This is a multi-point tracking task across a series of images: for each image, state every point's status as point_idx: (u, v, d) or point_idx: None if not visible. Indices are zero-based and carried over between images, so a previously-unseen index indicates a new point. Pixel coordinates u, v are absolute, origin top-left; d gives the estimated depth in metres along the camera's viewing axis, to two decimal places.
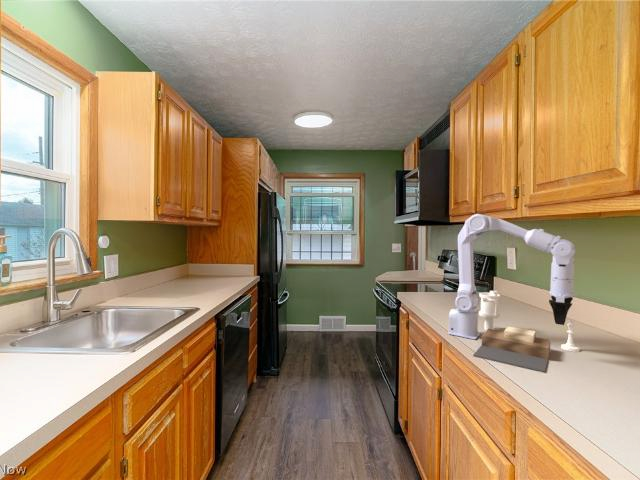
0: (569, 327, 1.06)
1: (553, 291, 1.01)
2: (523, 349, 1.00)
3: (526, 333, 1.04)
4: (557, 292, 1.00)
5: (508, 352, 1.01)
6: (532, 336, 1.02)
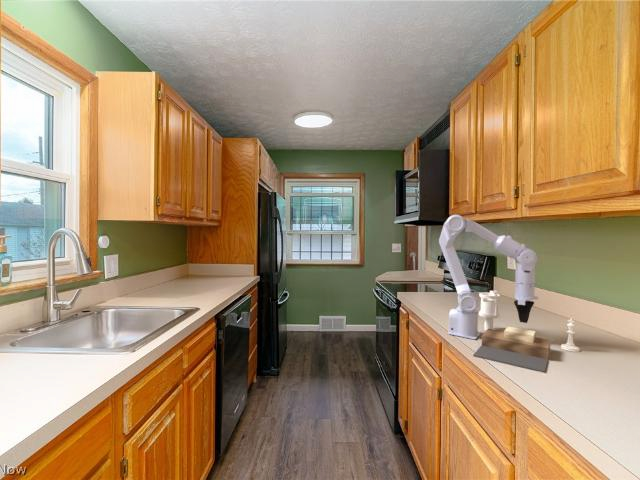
0: (569, 327, 1.06)
1: (517, 294, 1.12)
2: (523, 349, 1.00)
3: (526, 333, 1.04)
4: (520, 295, 1.11)
5: (508, 352, 1.01)
6: (532, 336, 1.02)
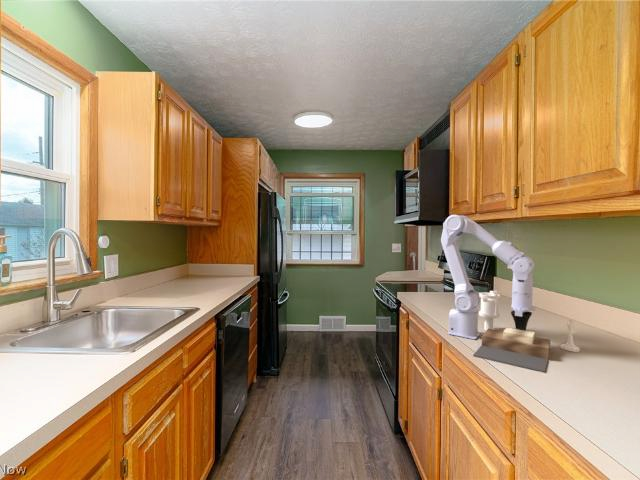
0: (569, 327, 1.06)
1: (514, 305, 1.07)
2: (523, 349, 1.00)
3: (525, 334, 1.02)
4: (517, 306, 1.06)
5: (508, 352, 1.01)
6: (531, 337, 1.00)
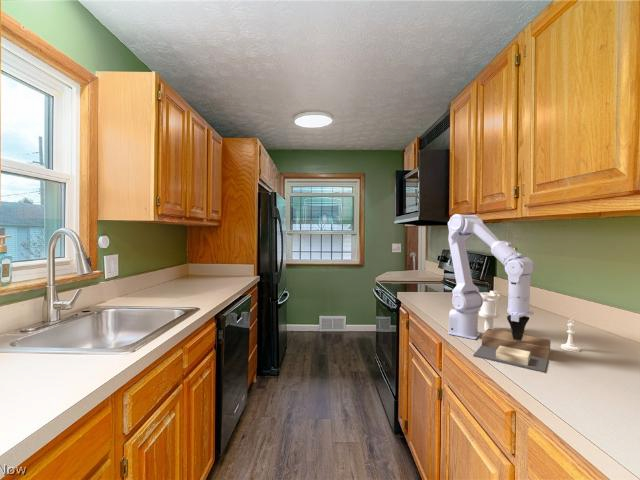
0: (569, 327, 1.06)
1: (510, 309, 1.01)
2: (523, 349, 1.00)
3: None
4: (513, 310, 1.00)
5: None
6: None
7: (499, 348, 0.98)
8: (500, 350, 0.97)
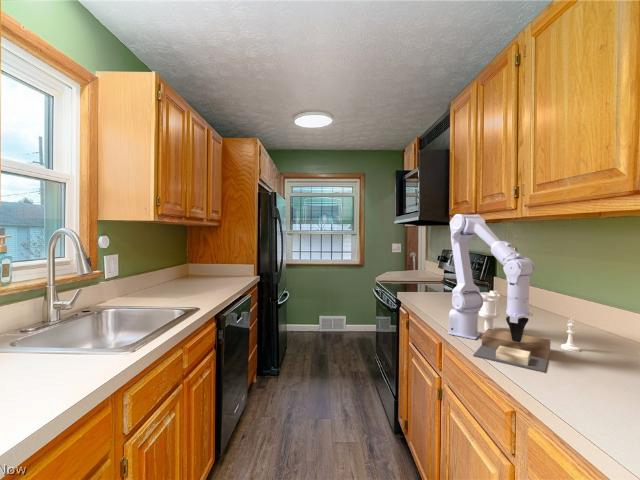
0: (569, 327, 1.06)
1: (509, 310, 1.00)
2: (523, 349, 1.00)
3: None
4: (512, 311, 0.99)
5: None
6: None
7: (499, 348, 0.98)
8: (500, 350, 0.97)
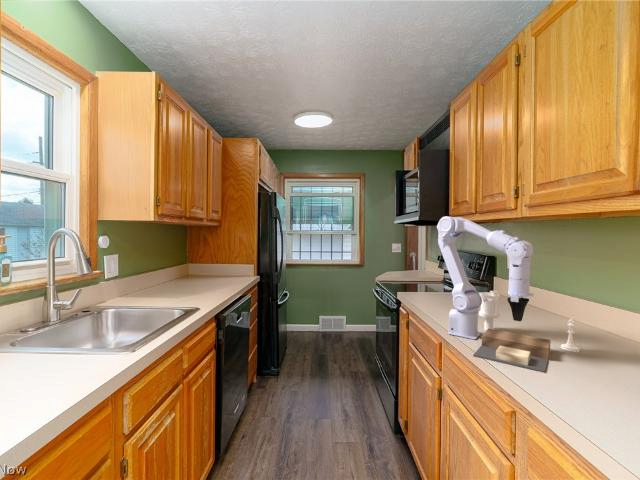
0: (569, 327, 1.06)
1: (510, 291, 1.04)
2: (523, 349, 1.00)
3: None
4: (513, 292, 1.03)
5: None
6: None
7: (499, 348, 0.98)
8: (500, 350, 0.97)
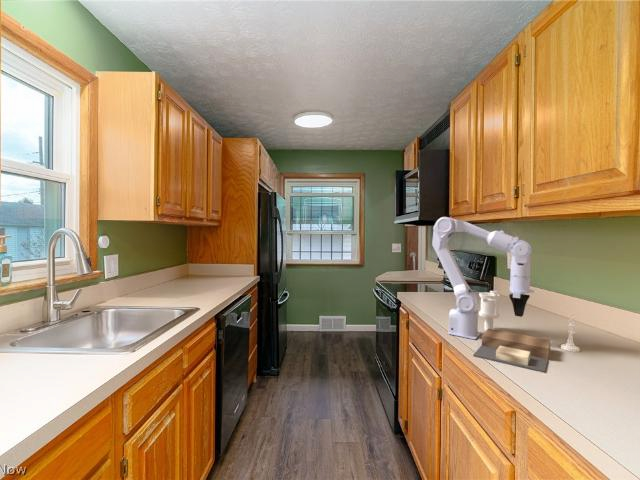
0: (569, 327, 1.06)
1: (512, 288, 1.10)
2: (523, 349, 1.00)
3: None
4: (515, 289, 1.09)
5: None
6: None
7: (499, 348, 0.98)
8: (500, 350, 0.97)
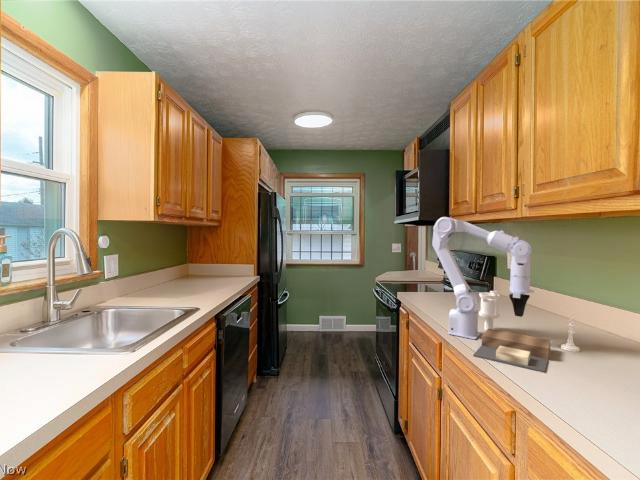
0: (569, 327, 1.06)
1: (512, 288, 1.10)
2: (523, 349, 1.00)
3: None
4: (515, 289, 1.09)
5: None
6: None
7: (499, 348, 0.98)
8: (500, 350, 0.97)
